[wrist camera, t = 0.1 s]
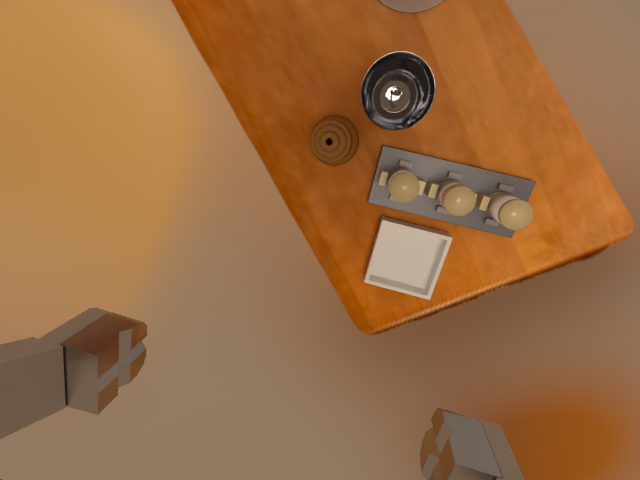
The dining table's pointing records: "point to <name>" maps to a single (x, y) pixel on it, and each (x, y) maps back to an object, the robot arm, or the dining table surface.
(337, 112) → the dining table surface
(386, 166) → the fuse block
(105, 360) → the robot arm
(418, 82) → the wine glass
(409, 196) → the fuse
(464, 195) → the marked fuse
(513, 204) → the fuse
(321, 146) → the ornamental finial
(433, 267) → the tray
